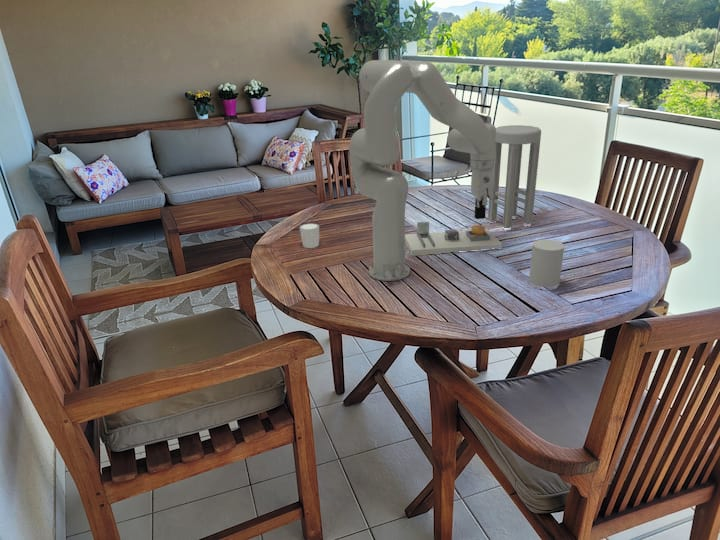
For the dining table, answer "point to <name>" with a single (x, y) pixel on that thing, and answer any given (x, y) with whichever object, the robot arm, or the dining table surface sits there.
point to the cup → (546, 263)
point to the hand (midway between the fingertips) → (479, 217)
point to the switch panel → (450, 242)
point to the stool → (515, 172)
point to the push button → (478, 230)
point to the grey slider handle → (423, 229)
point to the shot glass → (310, 235)
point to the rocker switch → (451, 233)
